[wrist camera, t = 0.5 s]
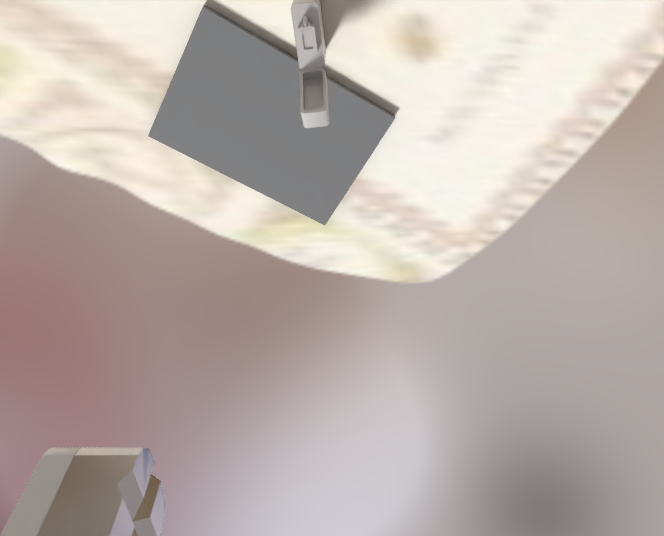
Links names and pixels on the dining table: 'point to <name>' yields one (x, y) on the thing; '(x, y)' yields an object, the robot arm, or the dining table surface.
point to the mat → (264, 120)
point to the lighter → (311, 62)
